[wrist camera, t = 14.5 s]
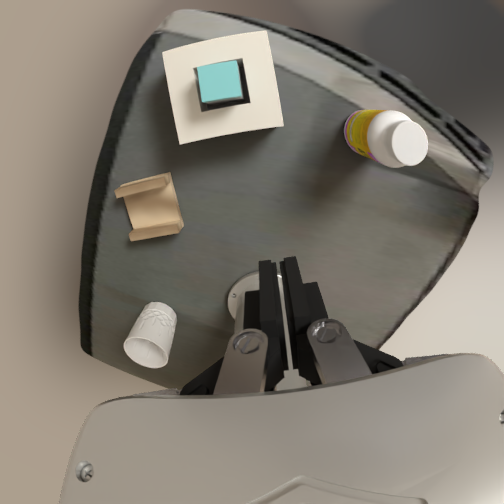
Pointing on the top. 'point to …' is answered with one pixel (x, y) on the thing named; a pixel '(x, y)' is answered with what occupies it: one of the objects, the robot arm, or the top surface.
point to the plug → (220, 83)
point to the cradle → (151, 207)
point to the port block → (228, 114)
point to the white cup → (152, 336)
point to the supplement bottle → (386, 137)
